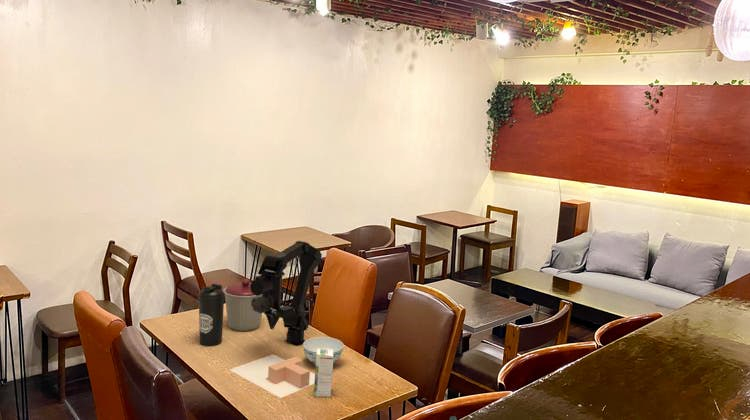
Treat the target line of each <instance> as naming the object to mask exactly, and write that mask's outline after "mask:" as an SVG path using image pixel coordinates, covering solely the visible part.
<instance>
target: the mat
mask: <svg viewBox="0 0 750 420" xmlns="http://www.w3.org/2000/svg"><path fill="white" fill-rule="evenodd" d="M285 360H286V359H284V358H281V357H279V356H278V355H275V354H274V353H273V354H270V355H267V356H265V357H262V358H259V359H256V360H253V361H250V362H247V363H244V364H242V365H241V364H240V365H239V366H236V367H233V368H230V369H229V372H233V374H236V375H238V376H239V377H240V378H243V379H245V380H247V382H248V381H249V382H251V383H252V384H254V385H256V386H258V387H260V388H262V389H263V390H265V391H267V392H269V393H271V394H272V395H274V396H276V397H277V398H279V399H282V398H285V397H286V396H289V395H292V394H294V393H296V392H299V391H301V390H303V389H305V388H308V387H310V386H313V385H314V380H315V373H314V372H311V371H310V377H309V385H308V386H305V387H303V388H301V389H300V388H298V387H296V386H294V385H292V384H290V383H288V382H286V381H282V382H280V383H277V384H274V383H272V382H271V381H269V380H268V366H271V365H274V364H277V363H279V362H282V361H285Z"/></svg>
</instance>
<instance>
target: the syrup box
mask: <svg viewBox="0 0 750 420" xmlns="http://www.w3.org/2000/svg"><path fill="white" fill-rule="evenodd" d="M333 356H334V350H333V349H317V355H316V365H315V366H314V367H315V369H314V374H315V380H314V384H313V385H314V386H313V397H317V398H318V397H319V398H323V397H324V398H325V397H326V398H330V397H332V385H333V372H334V363H333Z"/></svg>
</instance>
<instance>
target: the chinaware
mask: <svg viewBox="0 0 750 420" xmlns="http://www.w3.org/2000/svg"><path fill="white" fill-rule="evenodd" d="M344 346H345V345H344V342H342V340H340V339H337V338H334V337H329V336H317V337H316V336H315V337H311V338H308V339H306V340H305V342H304V343H303V344H302V348H303V351H304V355H305V356H306V359H308V361H310V362H311V363H312V364H314V365H316V355H317V349H333V350H334V356H333V364H334V363H335V362H336V361H337V360H338V359H339V358H340V356H342V352H343V350H344Z"/></svg>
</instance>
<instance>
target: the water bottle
mask: <svg viewBox="0 0 750 420" xmlns="http://www.w3.org/2000/svg"><path fill="white" fill-rule="evenodd" d="M222 286H223V285H221V284H217V283H211V285H208V286H202V287H201V290H200V291H199V293H198V294H197V301H198V324H199V330H198V331H199V332H198V333H199V337H198V338H199V345H201V346H203V347H216V346H219V345H221V344H222V341H223V328H224V327H223V323H224V308H225V307H224V306H225V305H224V304H225V301H226V300H225V293H224V292H223V290H224V289H223V287H222Z"/></svg>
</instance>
